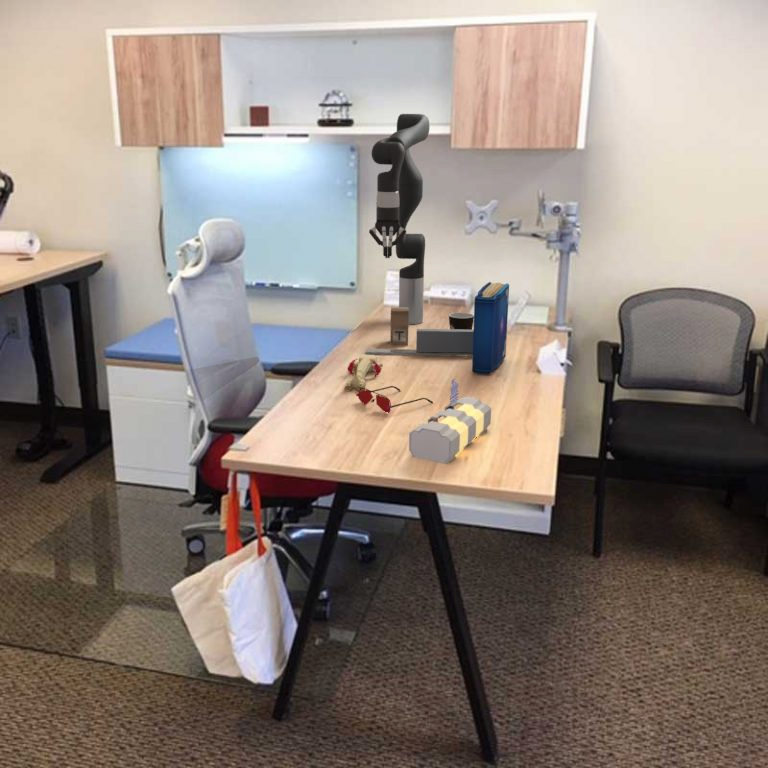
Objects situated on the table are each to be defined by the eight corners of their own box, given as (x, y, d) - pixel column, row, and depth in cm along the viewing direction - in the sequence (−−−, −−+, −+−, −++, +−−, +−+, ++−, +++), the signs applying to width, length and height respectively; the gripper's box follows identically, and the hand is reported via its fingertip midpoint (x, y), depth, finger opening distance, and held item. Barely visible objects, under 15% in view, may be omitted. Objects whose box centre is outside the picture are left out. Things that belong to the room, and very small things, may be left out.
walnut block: (390, 340, 285) (391, 307, 282) (408, 341, 285) (408, 307, 281) (390, 345, 279) (390, 311, 275) (408, 345, 279) (408, 311, 275)
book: (492, 377, 245) (496, 295, 237) (469, 375, 247) (472, 293, 240) (505, 358, 265) (510, 282, 257) (484, 356, 267) (487, 280, 259)
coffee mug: (473, 347, 278) (475, 318, 275) (448, 346, 278) (449, 318, 275) (471, 338, 289) (472, 310, 286) (446, 338, 289) (447, 310, 286)
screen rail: (365, 351, 272) (365, 348, 272) (486, 352, 271) (486, 350, 271) (365, 354, 268) (365, 352, 268) (487, 356, 267) (487, 353, 267)
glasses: (355, 403, 223) (355, 386, 221) (401, 391, 233) (401, 375, 231) (388, 417, 213) (388, 399, 211) (434, 404, 223) (435, 387, 221)
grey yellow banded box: (452, 423, 208) (453, 374, 204) (490, 430, 204) (492, 380, 200) (408, 457, 187) (409, 403, 183) (450, 466, 183) (452, 410, 179)
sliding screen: (416, 349, 271) (416, 328, 269) (483, 350, 270) (483, 329, 268) (416, 351, 268) (416, 331, 266) (483, 352, 268) (484, 332, 265)
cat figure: (371, 397, 231) (386, 365, 254) (371, 368, 228) (385, 338, 251) (337, 395, 233) (354, 363, 256) (336, 366, 230) (354, 337, 252)
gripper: (407, 204, 273) (406, 255, 279) (368, 203, 273) (368, 255, 279) (408, 206, 266) (407, 259, 271) (367, 206, 266) (367, 259, 272)
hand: (387, 257), depth 275 cm, fingers closed
